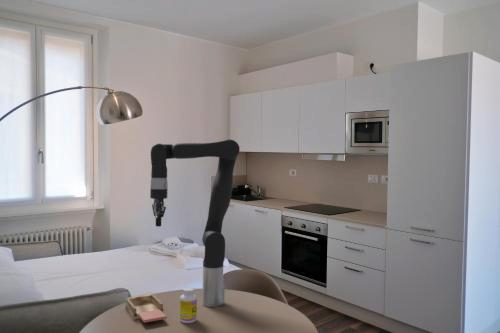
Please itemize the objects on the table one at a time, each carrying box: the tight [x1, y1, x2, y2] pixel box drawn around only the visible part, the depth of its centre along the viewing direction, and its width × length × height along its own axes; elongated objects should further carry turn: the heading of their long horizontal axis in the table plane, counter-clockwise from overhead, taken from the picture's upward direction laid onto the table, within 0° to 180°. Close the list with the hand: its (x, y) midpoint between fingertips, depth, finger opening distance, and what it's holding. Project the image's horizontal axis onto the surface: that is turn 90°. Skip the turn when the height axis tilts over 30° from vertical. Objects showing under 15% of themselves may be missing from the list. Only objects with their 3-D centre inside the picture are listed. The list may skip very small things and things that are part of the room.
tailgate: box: [138, 309, 168, 324], centre depth 159 cm, size 9×1×9 cm
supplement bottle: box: [179, 286, 198, 324], centre depth 161 cm, size 7×7×13 cm
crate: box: [125, 293, 164, 321], centre depth 169 cm, size 12×15×4 cm
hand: (158, 226), depth 179 cm, fingers closed
